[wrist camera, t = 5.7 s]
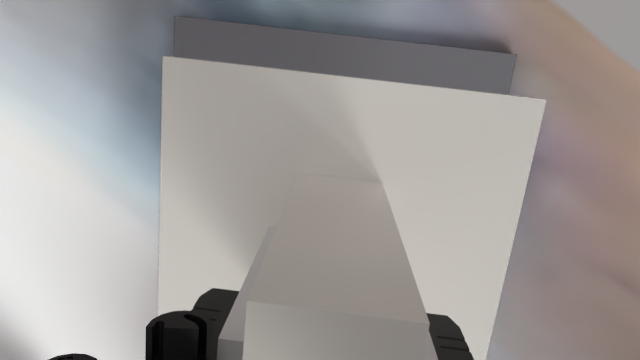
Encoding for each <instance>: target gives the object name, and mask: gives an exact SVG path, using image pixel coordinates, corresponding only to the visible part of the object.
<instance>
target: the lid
mask: <svg viewBox="0 0 640 360" xmlns="http://www.w3.org/2000/svg"><path fill="white" fill-rule="evenodd" d="M545 105H546V100H545V99H540V98H534V97H526V96H517V95H508V94H500V93H491V92H482V91H473V90H464V89H456V88H447V87H438V86H429V85H421V84H412V83H403V82H394V81H385V80H377V79H368V78H359V77H350V76H341V75H333V74H324V73H315V72H306V71H297V70H289V69H280V68H271V67H262V66H253V65H245V64H236V63H227V62H218V61H210V60H201V59H192V58H183V57H173V56H163V69H162V119H161V168H160V218H159V268H158V316H160V315H161V314H165V313H169V312H172V311H184V310H187V311H191V310H192V309H193V306H194V305H195V303H196V302H197V300H198V298H199V297H200V296H201V295H202V294H204V293H206V292H207V291H209V290H210V289H212V288H218V289H226V290H234V291H240V289H241V287H242V285H243V283H244V280H245V278H246V276H247V274H248V272H249V269H250V267H251V265H252V263H253V261H254V258H255V256H256V254H257V252H258V250H259V247H260V245H261V243H262V241H263V238H264V236H265V234H266V232H267V230H268V227H269V226H274V227H277V228H276V230H275V233H274V235H273V238H272V240H271V243H270V245H269V248H268V250H267V253H266V255H265V257H264V260H263V262H262V265H261V267H260V270H259V272H258V275H257V277H256V280H255V282H254V285H253V287H252V290H251V292H250V295H249V297H248V299H247V306H246V319H245V332H244V345H243V359H242V360H423V356H424V351H425V346H426V341H427V336H428V331H429V325H430V323H429V320H428V317H427V314H426V313H430V314H438V315H446V316H448V317H449V318H451V319H452V320H453V321H454V322H455V323H456V324H457V325H458V326H459V327H460V329H461V331H462V334H463V336H464V338H465V342H466V343H467V345H468V347H469V349H470V350H469V352H471V354H472V356H473V358H474V360H486V356H487V352H488V348H489V344H490V339H491V335H492V331H493V327H494V322H495V318H496V314H497V309H498V305H499V301H500V297H501V292H502V288H503V284H504V280H505V275H506V271H507V267H508V263H509V258H510V254H511V250H512V245H513V241H514V237H515V233H516V228H517V224H518V220H519V216H520V211H521V207H522V203H523V199H524V194H525V190H526V186H527V181H528V177H529V173H530V169H531V164H532V160H533V156H534V152H535V147H536V143H537V139H538V135H539V130H540V126H541V122H542V117H543V113H544V109H545Z"/></svg>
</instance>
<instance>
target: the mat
mask: <svg viewBox="0 0 640 360" xmlns="http://www.w3.org/2000/svg"><path fill="white" fill-rule="evenodd" d="M174 57H183V58H192V59H201V60H210V61H218V62H227V63H236V64H245V65H253V66H262V67H271V68H280V69H289V70H297V71H306V72H315V73H324V74H333V75H341V76H350V77H359V78H368V79H377V80H385V81H394V82H403V83H412V84H421V85H429V86H438V87H447V88H456V89H464V90H473V91H482V92H491V93H500V94H509V90H510V85H511V80H512V76H513V71H514V66H515V62H516V57H517V54H508V53H499V52H490V51H481V50H473V49H464V48H455V47H446V46H437V45H428V44H419V43H410V42H402V41H393V40H384V39H375V38H366V37H357V36H348V35H339V34H331V33H322V32H313V31H304V30H295V29H286V28H277V27H268V26H260V25H251V24H242V23H233V22H224V21H215V20H206V19H197V18H189V17H180V16H175V20H174Z"/></svg>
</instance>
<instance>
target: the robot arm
mask: <svg viewBox="0 0 640 360" xmlns="http://www.w3.org/2000/svg"><path fill="white" fill-rule="evenodd" d="M276 228H277V227H274V226H269V227H268V230H267V232H266V234H265V236H264V238H263V241H262V243H261V245H260V247H259V250H258V252H257V254H256V256H255V258H254V261H253V263H252V265H251V267H250V269H249V272H248V274H247V276H246V278H245V280H244V283H243V285H242V287H241V289H240V291H234V290H226V289H218V288H212V289H210V290H209V291H207V292H206V293H204V294H202V295H201V296H200V297H199V298H198V300H197V302H196V303H195V305H194V306H193V309H192V310H191V311H187V310H184V311H172V312H169V313H165V314H161V315H160V316H158V317H156V318H154V319H153V320H151V322H150V323H149V324H148V325H147V326H146V360H242V359H243V345H244V332H245V319H246V306H247V299H248V297H249V295H250V292H251V290H252V287H253V285H254V282H255V280H256V277H257V275H258V272H259V270H260V267H261V265H262V262H263V260H264V257H265V255H266V253H267V250H268V248H269V245H270V243H271V240H272V238H273V235H274V233H275V230H276ZM426 314H427V317H428V320H429V323H430V325H429V331H428V336H427V341H426V346H425V351H424V356H423V360H474V358H473V356H472V354H471V352H469V350H470V349H469V347H468V345H467V343H466V342H465V338H464V336H463V334H462V331H461V329H460V327H459V326H458V325H457V324H456V323H455V322H454V321H453V320H452V319H451V318H449V317H448V316H446V315H438V314H430V313H426ZM49 360H97V359H96V358H94V357H92V356H89V355H86V354H67V355H61V356H57V357H54V358H51V359H49Z"/></svg>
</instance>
